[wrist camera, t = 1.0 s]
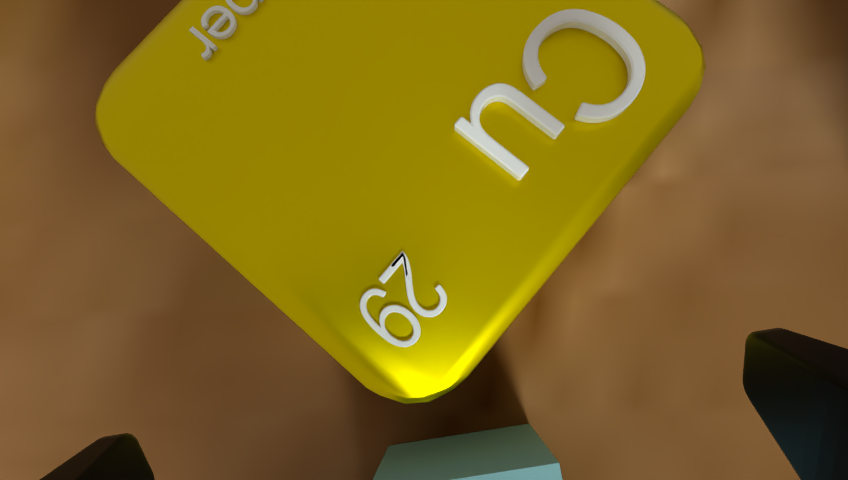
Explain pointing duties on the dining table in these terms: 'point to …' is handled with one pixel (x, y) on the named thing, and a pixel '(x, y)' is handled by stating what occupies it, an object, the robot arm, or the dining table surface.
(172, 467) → the dining table surface
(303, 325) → the element tile
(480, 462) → the block
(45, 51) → the dining table surface
